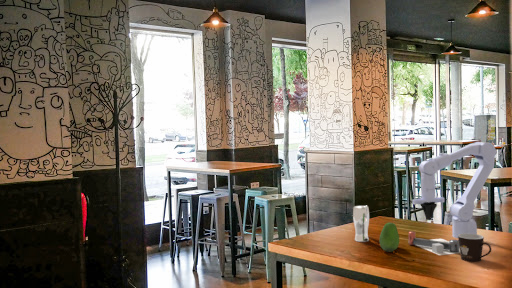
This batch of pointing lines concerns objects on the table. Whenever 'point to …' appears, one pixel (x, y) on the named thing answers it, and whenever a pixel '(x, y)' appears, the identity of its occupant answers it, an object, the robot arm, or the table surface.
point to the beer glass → (361, 223)
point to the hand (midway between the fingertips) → (428, 219)
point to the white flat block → (438, 248)
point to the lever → (451, 246)
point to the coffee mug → (471, 247)
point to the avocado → (389, 237)
